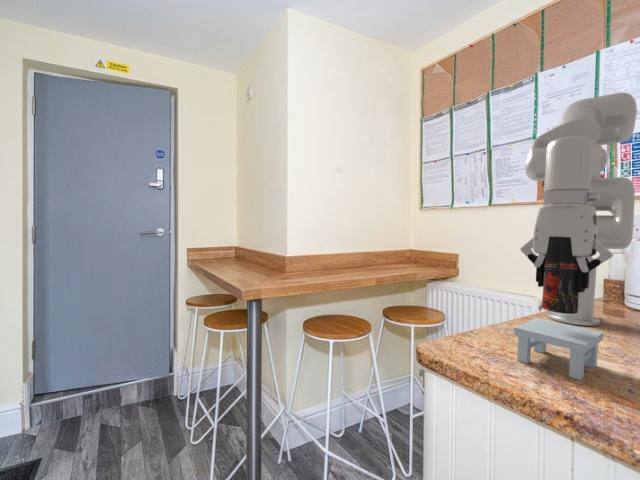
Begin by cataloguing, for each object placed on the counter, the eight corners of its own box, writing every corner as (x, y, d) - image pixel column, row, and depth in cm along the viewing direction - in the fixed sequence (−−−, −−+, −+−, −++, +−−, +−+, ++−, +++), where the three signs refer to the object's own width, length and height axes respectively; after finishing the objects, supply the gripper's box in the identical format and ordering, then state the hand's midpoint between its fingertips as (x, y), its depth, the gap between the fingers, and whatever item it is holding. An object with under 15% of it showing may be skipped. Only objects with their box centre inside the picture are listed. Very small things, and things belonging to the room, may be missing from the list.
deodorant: (584, 314, 64) (589, 237, 63) (550, 312, 65) (554, 237, 64) (567, 307, 70) (572, 236, 69) (536, 305, 71) (540, 235, 70)
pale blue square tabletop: (534, 347, 77) (536, 318, 76) (601, 365, 67) (603, 332, 67) (512, 360, 69) (514, 327, 69) (583, 382, 60) (586, 345, 60)
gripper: (627, 199, 62) (621, 294, 63) (526, 202, 75) (522, 280, 76) (618, 197, 57) (611, 299, 58) (512, 201, 71) (507, 283, 72)
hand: (560, 287), depth 67 cm, fingers closed on deodorant, 5 cm apart
